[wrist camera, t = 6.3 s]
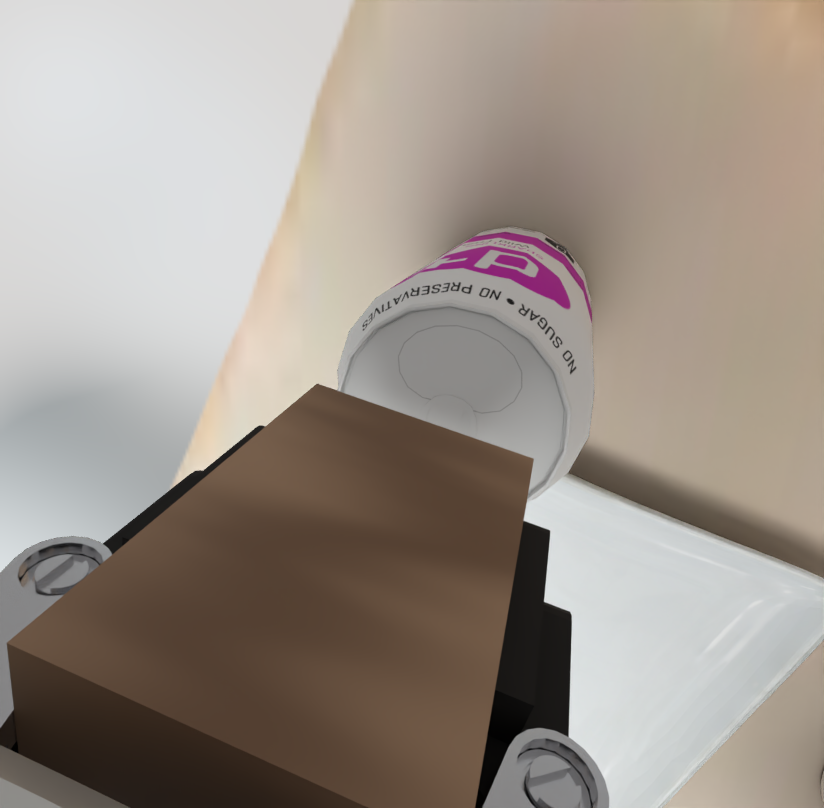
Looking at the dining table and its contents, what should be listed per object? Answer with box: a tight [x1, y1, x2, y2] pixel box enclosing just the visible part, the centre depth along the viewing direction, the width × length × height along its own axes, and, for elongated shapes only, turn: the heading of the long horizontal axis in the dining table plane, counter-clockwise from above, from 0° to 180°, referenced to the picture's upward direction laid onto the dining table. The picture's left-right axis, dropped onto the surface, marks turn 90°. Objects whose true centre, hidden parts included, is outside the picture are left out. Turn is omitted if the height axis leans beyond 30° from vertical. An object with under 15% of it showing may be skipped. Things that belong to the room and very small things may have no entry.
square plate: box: [524, 473, 824, 808], centre depth 37 cm, size 27×27×4 cm
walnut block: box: [7, 384, 534, 808], centre depth 9 cm, size 4×4×7 cm
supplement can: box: [337, 226, 594, 504], centre depth 24 cm, size 8×8×15 cm
